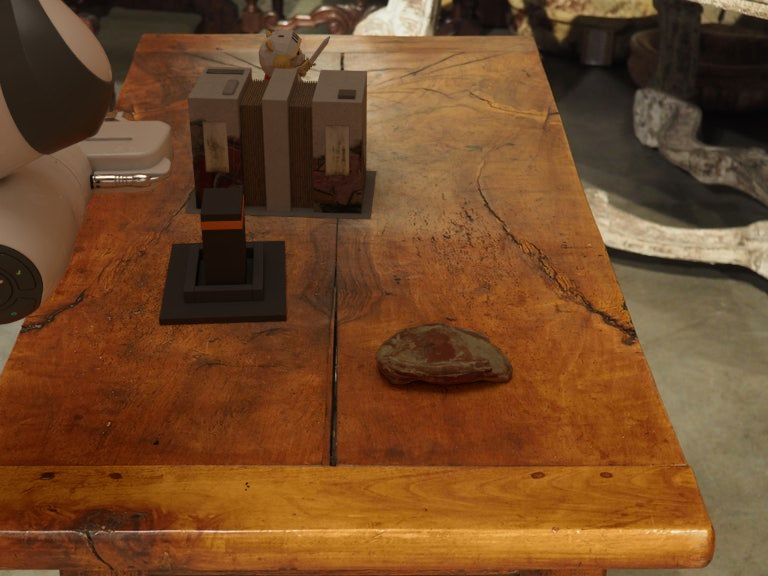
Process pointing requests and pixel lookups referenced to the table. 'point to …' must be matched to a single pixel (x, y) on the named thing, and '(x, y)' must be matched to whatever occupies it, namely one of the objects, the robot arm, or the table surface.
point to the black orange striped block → (224, 236)
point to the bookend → (283, 142)
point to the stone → (441, 356)
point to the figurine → (286, 53)
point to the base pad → (225, 287)
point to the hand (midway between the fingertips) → (62, 120)
